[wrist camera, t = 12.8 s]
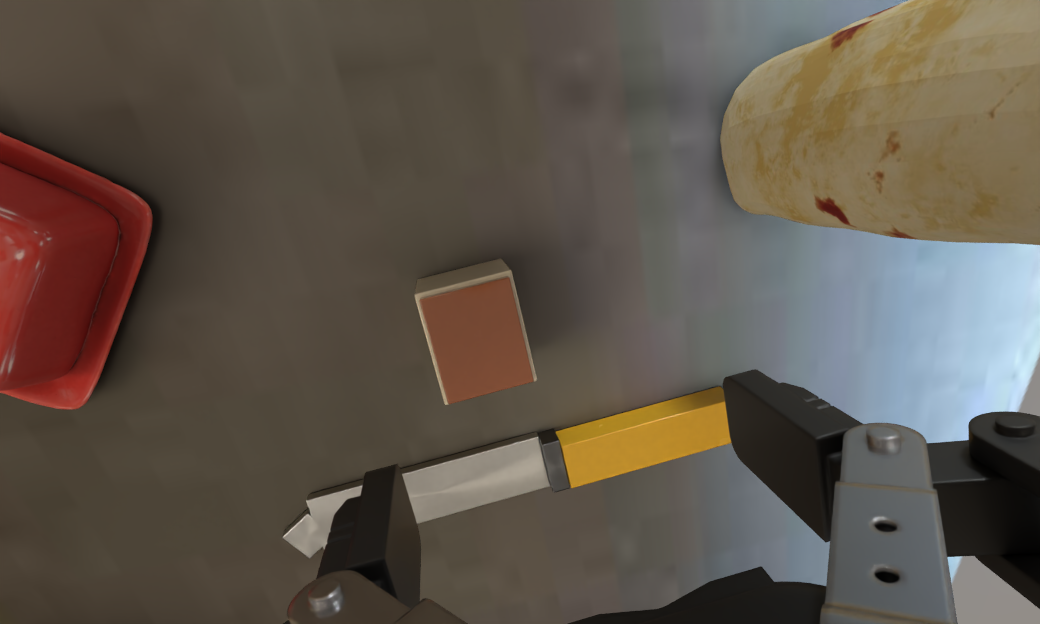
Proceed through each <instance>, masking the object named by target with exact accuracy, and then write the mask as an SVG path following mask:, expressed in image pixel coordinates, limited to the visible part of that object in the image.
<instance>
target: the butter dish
mask: <svg viewBox="0 0 1040 624" xmlns="http://www.w3.org/2000/svg"><path fill="white" fill-rule="evenodd" d="M152 222H153V216H152V211H151V209H150V207H149V205H148V204H147V203H146V202H145V201H144V200H143V199H142V198H141V197H139V196H138V195H136V194H135V193H133V192H131V191H129V190H127V189H126V188H123V187H121V186H120V185H117V184H114V183H112V182H111V181H109V180H108V179H106V178H104V177H101V176H99V175H96V174H94V173H91V172H89V171H87V170H85V169H83V168H80V167H78V166H76V165H73V164H71V163H68V162H66V161H64V160H62V159H60V158H57V157H55V156H53V155H51V154H48V153H46V152H44V151H42V150H40V149H37V148H35V147H33V146H30V145H28V144H25V143H23V142H21V141H19V140H16V139H14V138H11V137H9V136H6V135H4V134H2V133H0V392H1V393H4V394H7V395H10V396H12V397H16V398H19V399H21V400H25V401H28V402H32V403H35V404H38V405H43V406H48V407H52V408H57V409H78V408H80V407H81V406H83V405H84V404H85V403H86V402H87V401H88V400H89V398H90V396H91V394H92V392H93V390H94V388H95V386H96V384H97V382H98V380H99V377H100V375H101V373H102V370H103V367H104V364H105V362H106V359H107V356H108V354H109V351H110V348H111V346H112V343H113V340H114V338H115V335H116V332H117V330H118V327H119V324H120V321H121V319H122V316H123V313H124V310H125V308H126V306H127V303H128V300H129V298H130V295H131V292H132V290H133V287H134V284H135V282H136V278H137V276H138V273H139V270H140V268H141V265H142V263H143V259H144V256H145V254H146V251H147V247H148V242H149V239H150V235H151V231H152Z"/></svg>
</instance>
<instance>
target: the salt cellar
mask: <svg viewBox="0 0 1040 624" xmlns="http://www.w3.org/2000/svg"><path fill="white" fill-rule="evenodd" d="M414 297H415V300H416V304H417V307H418V311H419V315H420V318H421V322H422V325H423V329H424V332H425V336H426V340H427V343H428V347H429V350H430V354H431V357H432V361H433V364H434V368H435V372H436V375H437V379H438V382H439V386H440V389H441V393H442V397H443V400H444V404H445V405H448V404H452V403H456V402H459V401H463V400H467V399H471V398H474V397H478V396H482V395H485V394H489V393H493V392H497V391H500V390H504V389H508V388H512V387H515V386H519V385H523V384H526V383H530V382H534V381H536V380H537V377H536V372H535V368H534V364H533V360H532V355H531V351H530V347H529V343H528V338H527V334H526V330H525V326H524V321H523V317H522V313H521V309H520V304H519V300H518V296H517V292H516V287H515V283H514V279H513V275H512V271H511V270H510V268H509V267H508V266H507V265H506V263H505V262H504V261H503V260H502V259H497V260H493V261H489V262H485V263H481V264H477V265H473V266H469V267H465V268H461V269H457V270H453V271H449V272H445V273H441V274H437V275H433V276H429V277H425V278H421V279H418V280H417V281H416V288H415V295H414Z"/></svg>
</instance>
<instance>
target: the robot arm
mask: <svg viewBox="0 0 1040 624" xmlns="http://www.w3.org/2000/svg"><path fill="white" fill-rule="evenodd" d="M723 390H724V397H725V405H726V412H727V419H728V427H729V434H730V439H731V443H732V446H733V448H734V450H735V452H736V454H737V456H738V458H739V459H740V460H741V461H742V462H743V463H744V464H745V465H746V466H747V467H748V468H749V469H750V470H751V471H752V472H753V473H754V474H755V475H756V476H757V477H758V478H759V479H760V480H761V481H762V482H763V483H765V484H766V485H767V486H768V487H769V488H770V489H771V490H772V491H773V492H774V493H775V494H776V495H777V496H778V497H779V498H780V499H781V500H782V501H783V502H784V503H785V504H786V505H787V506H788V507H789V508H790V509H792V510H793V511H794V512H795V513H796V514H797V515H798V516H799V517H800V518H801V519H802V520H803V521H804V522H805V523H806V524H807V525H808V526H809V527H810V528H811V529H812V530H813V531H814V532H815V533H816V534H817V535H819V536H820V537H821V538H822V539H823V540H824V541H825V542H829V541H830V550H829V562H828V573H827V585H826V586H822V585H817V584H811V583H802V582H774V581H773V580H772V579H771V578H770V576H769V575H768V574H767V573H766V571H765V570H764V569H763V568H762V567H758V568H754V569H751V570H748V571H744V572H741V573H738V574H734V575H731V576H727V577H724V578H721V579H717V580H714V581H710V582H708V583H706V584H705V585H703V586H701V587H699V588H697V589H696V590H694V591H692V592H690V593H688V594H687V595H685V596H683V597H681V598H679V599H678V600H676V601H674V602H672V603H670V604H669V605H667V606H665V607H663V608H659V609H653V610H642V611H631V612H619V613H608V614H599V615H595V616H592V617H589V618H585V619H582V620H578V621H575V622H572V623H568V624H958V623H957V617H956V611H955V604H954V598H953V591H952V585H951V578H950V572H949V565H948V559H947V557H954V556H975V557H976V558H977V559H978V560H979V561H980V562H981V563H983V564H984V565H985V566H986V567H988V568H989V569H990V570H991V571H993V572H994V573H995V574H997V575H998V576H999V577H1000V578H1002V579H1003V580H1004V581H1005V582H1007V583H1008V584H1009V585H1010V586H1012V587H1013V588H1014V589H1015V590H1017V591H1018V592H1019V593H1020V594H1022V595H1023V596H1024V597H1026V598H1027V599H1028V600H1029V601H1031V602H1032V603H1033V604H1034V605H1035V606H1037V607H1038V608H1039V609H1040V417H1039V416H1036V415H1031V414H1026V413H1019V412H991V413H986V414H982V415H979V416H977V417H974V418H973V419H972V420H971V421H970V422H969V440H966V441H953V442H941V443H926V440H925V438H924V437H923V436H922V435H921V434H920V433H918V432H917V431H915V430H913V429H911V428H908V427H905V426H901V425H897V424H890V423H869V424H862V423H860V422H859V421H857V420H855V419H854V418H852V417H851V416H849V415H847V414H846V413H844V412H842V411H841V410H839V409H837V408H836V407H834V406H830V404H829V403H827V402H826V401H824V400H822V399H819V398H818V397H817V396H816V395H814V394H813V393H811V392H809V391H808V390H806V389H804V388H801V387H798V386H794V385H790V384H786V383H777V382H776V381H774V380H772V379H771V378H769V377H768V376H766V375H764V374H763V373H761V372H760V371H758V370H751V371H747V372H743V373H739V374H736V375H732V376H728V377H726V378H725V379H724V381H723ZM330 531H331V532H329V535H328V539H327V544H326V546H325V550H324V553H323V557H322V560H321V564H320V568H319V571H318V575H317V578H316V580H314V581H312V582H311V583H309V584H308V585H307V586H305V587H304V588H303V589H302V590H301V591H300V592H299V593H298V594H297V595H296V596H295V597H294V599H293V600H292V601H291V603H290V605H289V608H288V611H287V616H288V621H286V622H285V623H283V624H468V623H466V622H465V621H463V620H462V619H460V618H458V617H457V616H455V615H454V614H452V613H451V612H449V611H448V610H446V609H445V608H443V607H441V606H440V605H438V604H437V603H435V602H434V601H432V600H430V599H422V600H421V601H420V567H421V543H420V535H419V530H418V526H417V522H416V518H415V515H414V512H413V509H412V505H411V502H410V499H409V495H408V492H407V489H406V486H405V482H404V479H403V476H402V473H401V470H400V468H399V466H398V464H395V465H391V466H388V467H384V468H380V469H376V470H373V471H369V472H366V473H365V476H364V481H363V486H362V490H361V495H360V496H357V497H353V498H350V499H347V500H346V501H345V502H344V503H343V505H342V506H341V507H340V508H339V509H338V511H337V512H336V513H335V514H334V517H333V521H332V524H331V528H330Z"/></svg>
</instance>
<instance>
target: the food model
mask: <svg viewBox="0 0 1040 624" xmlns="http://www.w3.org/2000/svg"><path fill="white" fill-rule="evenodd" d="M720 142H721V150H722V158H723V162H724V166H725V170H726V174H727V178H728V182H729V186H730V190H731V193H732V196H733V199H734V201H735V202H736V203H737V204H738V205H739V206H740V207H741V208H742V209H743V210H745V211H747V212H750V213H752V214H758V215H763V214H766V215H772V216H778V217H781V218H785V219H788V220H792V221H795V222H799V223H803V224H807V225H815V226H823V227H834V228H846V229H852V230H858V231H865V232H870V233H875V234H880V235H885V236H890V237H897V238H908V239H918V240H931V241H946V242H974V243H1019V244H1033V245H1040V0H909V1H906V2H904V3H901V4H899V5H896V6H894V7H891V8H888V9H886V10H883V11H881V12H878V13H876V14H874V15H871V16H869V17H866V18H864V19H862V20H859V21H857V22H854V23H852V24H850V25H848V26H846V27H844V28H842V29H841V30H839V31H837V32H835V33H833V34H831V35H829V36H827V37H825V38H822V39H819V40H816V41H814V42H811V43H808V44H805V45H803V46H800V47H797V48H794V49H791V50H789V51H787V52H785V53H782V54H780V55H778V56H775V57H773V58H771V59H770V60H768V61H766V62H765V63H763V64H761V65H760V66H758V67H756V68H755V69H754V70H753V71H752V72H751V73H750V74H749V75H748V76H747V78H746V79H745V80H744V81H743V82H742V83H741V84H740V85H739V86H738V87H737V89H736V90H735V92H734V94H733V97H732V99H731V101H730V103H729V105H728V108H727V110H726V112H725V114H724V119H723V124H722V130H721V136H720Z"/></svg>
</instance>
